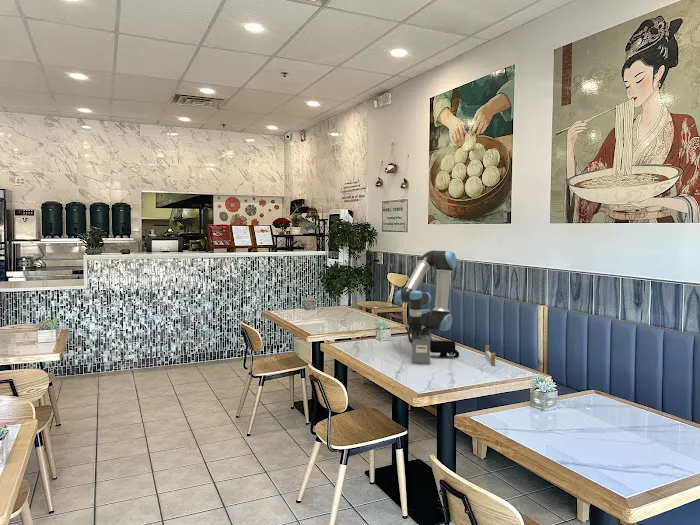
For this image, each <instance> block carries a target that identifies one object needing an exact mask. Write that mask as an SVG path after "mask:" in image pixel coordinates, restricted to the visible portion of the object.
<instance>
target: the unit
mask: <svg viewBox="0 0 700 525" xmlns="http://www.w3.org/2000/svg"><path fill="white" fill-rule="evenodd" d="M411 336H412V340H413V341H412V343H411V348H412V349H411V351H412V353H411V360H412V364H413V365H414V364H415V365H416V364H417V365H420V364H421V365H430V363H431V352H430V341H431V338H430V336H425V335H412V334H411Z"/></svg>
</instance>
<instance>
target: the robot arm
mask: <svg viewBox="0 0 700 525" xmlns="http://www.w3.org/2000/svg"><path fill="white" fill-rule="evenodd" d="M416 262H417V263H416V267H415V268H414V270H413V272H412V274H411V275H410V277H409V279H408V281H406V284H405V286H404V287H403V289H401V290H400V289H399V290H398V291H396V294H395V299H396V301H397V302H398V303H406V304H409V318H408V320H409V323H408V325H405V326H404V329H405V330H406V334H407V337H408V342H409V343H411V344H412V341H413V340H412V335H425V336H430V338H431V340H433V338H432V334H431V330H434V331H440V332H442V331H443V332H446V331H448V330H450V328H451V327H452V324H453V315H452V314H451V313H450V310H449V296H450V293H449V292H450V282H451V281H450V280H451V274H452V273H453V272H454V269H455V268H457V263H458V262H457V256H456V253H455V252H454V251H450V250H436V249H435V250H429V251H427V252H425V253H424V254H423V255H422V256H421V257H419V259H418V260H417V261H416ZM431 268H435V271H436V272H437V278H436V287H435V288H436V289H435V290H436V291H435V303H434V308H433V309H432V310H431V308H429V309H428V308H427V309H426V308H425V309H423V305H428V304H429V303H430V302H431V301H432V295H431V293H429V292H428V291H423V292H422V291H421V290H417V289H418V287H419V286H420V283H421V281H422V280H423V278H424V276H425V274H426V273H427V272H428V271H429V270H430V269H431ZM409 329H410V330H411V334H410V330H409Z"/></svg>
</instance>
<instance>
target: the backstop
mask: <svg viewBox="0 0 700 525" xmlns="http://www.w3.org/2000/svg"><path fill="white" fill-rule="evenodd" d="M484 348H485V350H484V351H485V352H484V357H485V359H486V360H487V362H488V364H490V366H493V367H494V366H496V352H490V345H485V347H484Z"/></svg>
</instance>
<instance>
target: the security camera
mask: <svg viewBox="0 0 700 525" xmlns="http://www.w3.org/2000/svg"><path fill="white" fill-rule="evenodd" d="M430 354H439V355H438V357H439V358H448V355H450V356H453V358H454V359H455V358H456V359H458V358H459V357H460V352H459V351H458V350H457V349H456V341H455V340H441V339H440V340H433V339H432V340H431V341H430Z"/></svg>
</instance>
